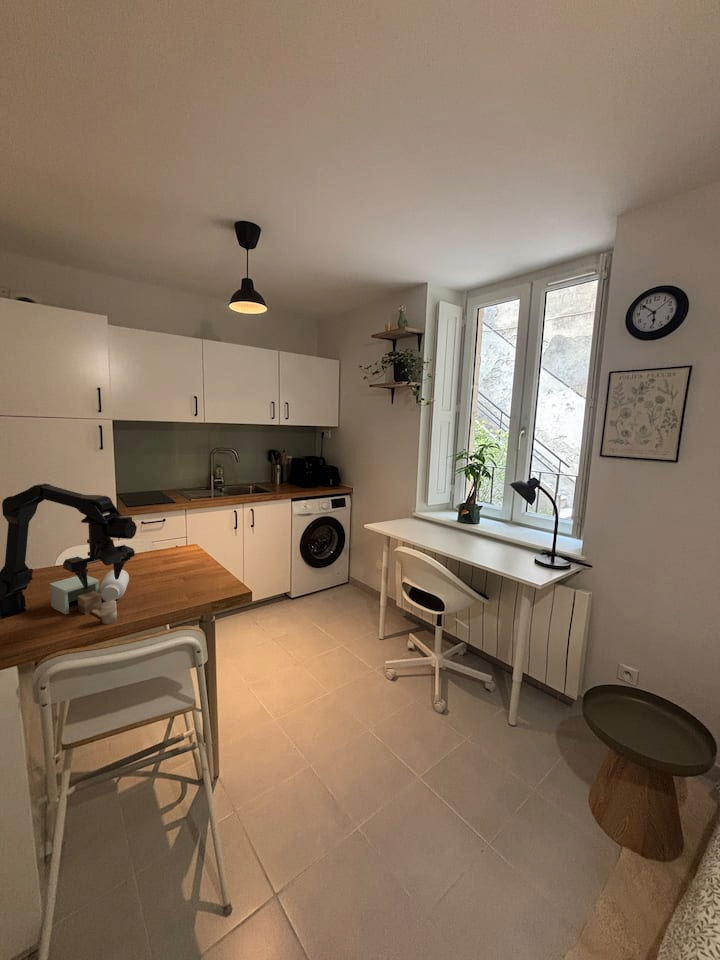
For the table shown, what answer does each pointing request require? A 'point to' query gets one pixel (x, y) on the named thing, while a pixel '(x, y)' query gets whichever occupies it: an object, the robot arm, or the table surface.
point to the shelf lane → (70, 592)
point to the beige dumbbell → (98, 607)
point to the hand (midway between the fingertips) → (101, 583)
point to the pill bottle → (113, 586)
